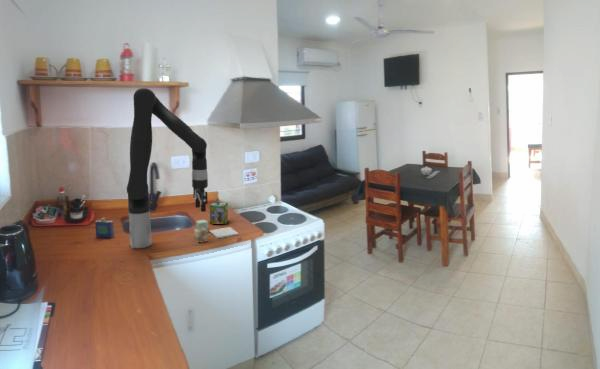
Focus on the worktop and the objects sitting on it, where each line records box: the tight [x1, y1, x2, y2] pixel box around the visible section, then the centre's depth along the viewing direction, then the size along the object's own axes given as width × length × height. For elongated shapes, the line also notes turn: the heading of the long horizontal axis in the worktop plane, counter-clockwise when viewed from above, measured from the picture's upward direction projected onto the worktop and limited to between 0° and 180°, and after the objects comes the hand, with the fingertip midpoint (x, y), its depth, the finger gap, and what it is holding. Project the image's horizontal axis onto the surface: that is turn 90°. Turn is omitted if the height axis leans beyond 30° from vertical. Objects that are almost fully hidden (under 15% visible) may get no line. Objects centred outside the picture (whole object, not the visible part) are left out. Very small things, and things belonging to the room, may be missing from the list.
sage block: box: [195, 219, 209, 232], centre depth 200 cm, size 5×5×6 cm
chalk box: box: [208, 197, 229, 225], centre depth 215 cm, size 9×9×15 cm
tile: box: [208, 226, 240, 239], centre depth 198 cm, size 12×12×1 cm
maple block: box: [193, 228, 208, 243], centre depth 186 cm, size 5×5×6 cm
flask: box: [94, 217, 115, 240], centre depth 187 cm, size 9×3×11 cm, turn 87°
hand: (200, 209), depth 184 cm, fingers open, 8 cm apart
